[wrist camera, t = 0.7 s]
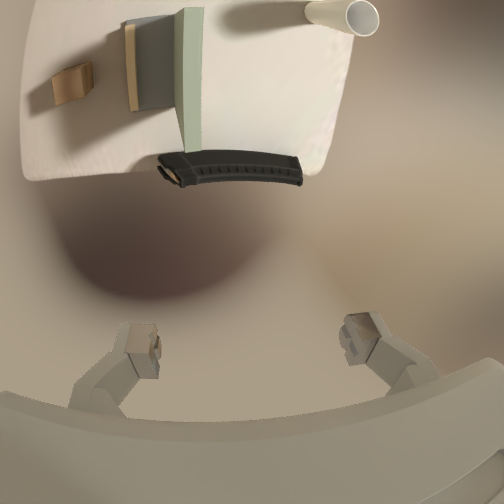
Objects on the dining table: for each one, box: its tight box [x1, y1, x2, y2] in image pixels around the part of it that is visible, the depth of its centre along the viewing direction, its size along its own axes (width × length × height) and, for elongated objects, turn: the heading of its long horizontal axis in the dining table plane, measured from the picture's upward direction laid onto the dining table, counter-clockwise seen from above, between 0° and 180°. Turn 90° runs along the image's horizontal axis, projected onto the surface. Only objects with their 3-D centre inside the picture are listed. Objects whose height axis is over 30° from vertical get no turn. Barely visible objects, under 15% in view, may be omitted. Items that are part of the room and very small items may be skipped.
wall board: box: [125, 7, 204, 153], centre depth 31 cm, size 10×18×21 cm, turn 176°
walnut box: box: [51, 62, 94, 106], centre depth 32 cm, size 6×5×8 cm
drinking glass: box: [304, 0, 379, 37], centre depth 32 cm, size 7×7×15 cm
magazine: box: [157, 150, 303, 188], centre depth 55 cm, size 17×3×30 cm
